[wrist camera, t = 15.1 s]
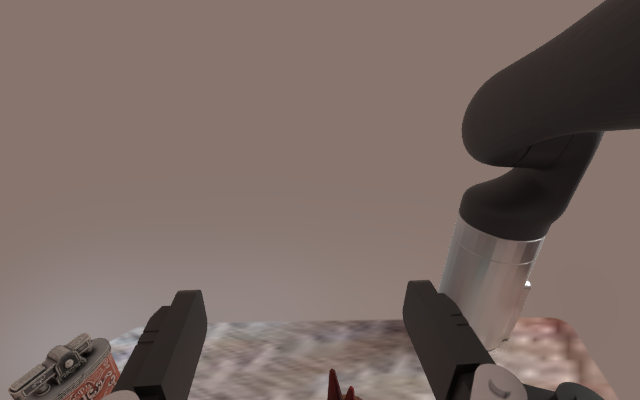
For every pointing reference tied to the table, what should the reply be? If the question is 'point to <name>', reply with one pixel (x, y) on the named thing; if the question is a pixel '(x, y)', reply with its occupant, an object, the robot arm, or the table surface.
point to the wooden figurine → (334, 389)
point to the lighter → (71, 373)
